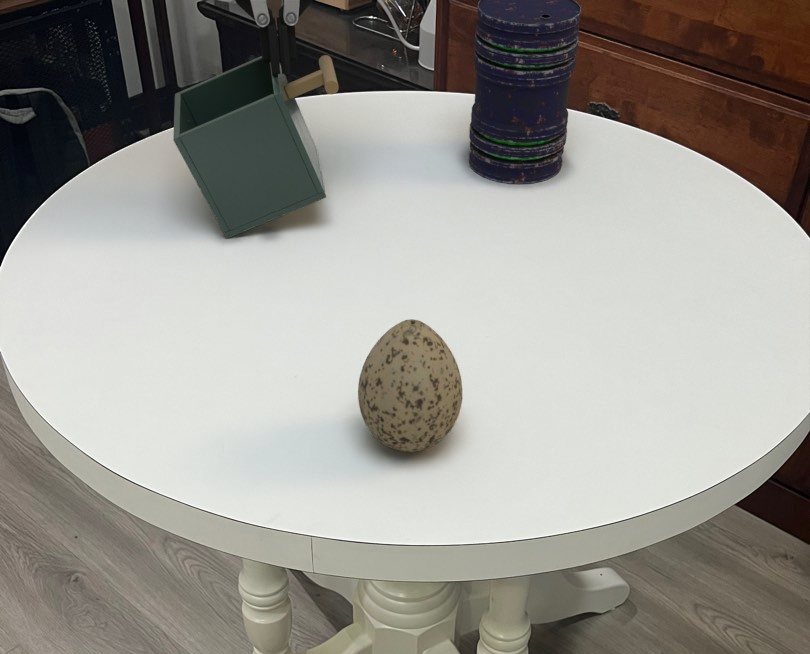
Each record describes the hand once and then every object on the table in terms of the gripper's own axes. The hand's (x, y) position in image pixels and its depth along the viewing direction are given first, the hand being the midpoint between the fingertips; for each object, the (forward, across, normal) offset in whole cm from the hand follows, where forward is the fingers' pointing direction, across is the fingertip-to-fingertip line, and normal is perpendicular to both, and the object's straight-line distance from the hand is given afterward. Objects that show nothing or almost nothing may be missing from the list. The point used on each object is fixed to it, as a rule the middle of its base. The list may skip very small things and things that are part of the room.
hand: (280, 69), depth 86 cm
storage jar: (+13, -24, -7) cm, 28 cm away
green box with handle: (+8, +8, 0) cm, 11 cm away
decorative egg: (+13, -6, +36) cm, 39 cm away
